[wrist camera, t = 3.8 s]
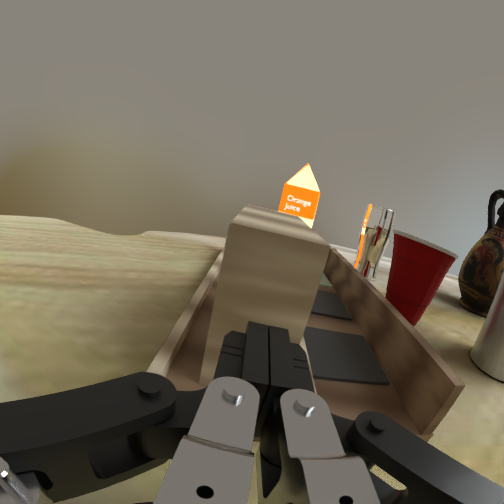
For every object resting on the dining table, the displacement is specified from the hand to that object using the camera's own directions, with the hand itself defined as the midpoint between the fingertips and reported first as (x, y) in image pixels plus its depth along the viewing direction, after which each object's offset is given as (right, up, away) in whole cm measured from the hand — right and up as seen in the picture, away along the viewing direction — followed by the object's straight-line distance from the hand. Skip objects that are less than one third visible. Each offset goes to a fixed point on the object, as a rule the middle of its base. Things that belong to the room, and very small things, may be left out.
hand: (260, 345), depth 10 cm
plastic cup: (+21, -6, +27) cm, 35 cm away
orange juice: (+8, +4, +54) cm, 55 cm away
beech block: (-1, -4, +12) cm, 13 cm away
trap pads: (+8, -4, +18) cm, 20 cm away
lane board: (+3, -3, +22) cm, 22 cm away
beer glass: (+23, -2, +47) cm, 53 cm away
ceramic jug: (+53, -10, +41) cm, 67 cm away
